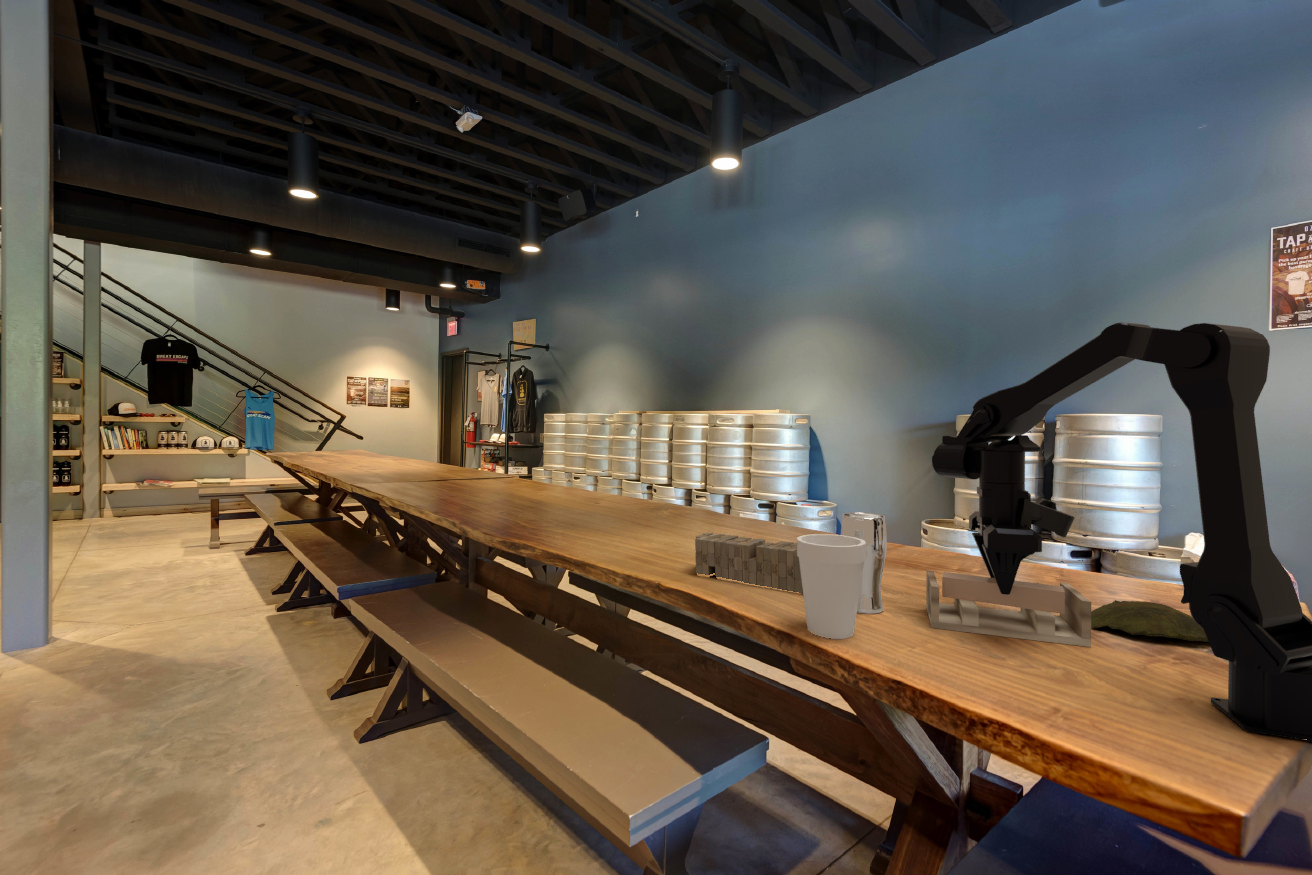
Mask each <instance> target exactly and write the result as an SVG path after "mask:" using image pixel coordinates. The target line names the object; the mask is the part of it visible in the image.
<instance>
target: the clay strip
mask: <svg viewBox="0 0 1312 875" xmlns="http://www.w3.org/2000/svg"><path fill="white" fill-rule="evenodd" d="M941 577H942V579H941V581H942V582H941V583H942V584H941V585H942V586H941V589H942V590H941V597H942V598H948V599H949V598H950V599H954V598H955V599H962V600H969V601H975V603H976V602H978V603H984V604H992V605H998V606H1005V607H1013V608H1020V609H1021V608H1025V609H1032V610H1039V611H1046V612H1051V613H1052V614H1054V613H1055V614H1060V613H1061V614H1065V592H1064V589H1063V586H1060V585H1053V584H1044V583H1038V582H1030V581H1022V580H1014V583H1013V587H1012V590H1011V593H1010V594H1009V595H1006V594H1001V592H1000V590H999V588H998V585H997V582H996V580H995V578H991V577H990V576H989V577H988V576H987V577H986V576H982V575H981V576H979V575H971V574H965V573H964V574H963V573H956V572H955V573H954V572H947V571H944V572H943V574H942V576H941Z"/></svg>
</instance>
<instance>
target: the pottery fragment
mask: <svg viewBox="0 0 1312 875" xmlns="http://www.w3.org/2000/svg"><path fill="white" fill-rule="evenodd" d="M1104 627H1109V628H1110V629H1111V630H1120V631H1123V632H1125V633H1127V634H1130V635H1132V636H1138V635H1143V636H1146V637H1163V638H1169V639H1178V640H1183V641H1184V640H1185V641H1188V642H1194V641H1196V642H1204V643H1209V641H1208V639H1207V636H1206V634H1205V631H1204V629H1203V628H1202V627H1201V626H1200V625H1199V624H1197V623H1196V622H1195V621H1194V619H1193V617H1192V616H1191V615H1190V614H1187V613H1185V612H1183V611H1180V610H1178V609H1176V608H1174V607H1171V606H1169V605H1166V604H1162V603H1157V602H1152V601H1141V600H1140V601H1139V600H1135V601H1134V600H1132V601H1131V600H1120V601H1119V600H1116V599H1114V601H1111V603H1107V604H1103V605H1101V606H1099V607H1097V608H1095V609H1094V610H1091V630H1098V629H1100V628H1104Z"/></svg>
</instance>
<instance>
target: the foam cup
mask: <svg viewBox="0 0 1312 875" xmlns="http://www.w3.org/2000/svg"><path fill="white" fill-rule="evenodd" d="M796 543H797V556H798V557H799V563H800V571H801V579H802V588H803V594H802V595H803V603H804V611H805V619H806V626H807V631H808V630H809V631H811V632H812V633H814V634H816V635H819V636H821V637H820V638H823V637H825V638H824V639H829V638H831V640H844V639H850V638H851V637H852V636H854V631H855V629H856V628H855V627H856V621H857V615H858V613H857V608H858V602H859V595H860V588H861V581H862V574H863V567H864V561H865V560H866V542H865V541H864V540H862V539H859V538H855V537H849V536H844V535H841V534H831V533H828V534H827V533H812V534H804V535H800V536H797V538H796ZM809 631H808V632H809ZM812 633H811V634H812ZM816 635H815V636H816ZM819 636H818V637H819Z"/></svg>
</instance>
